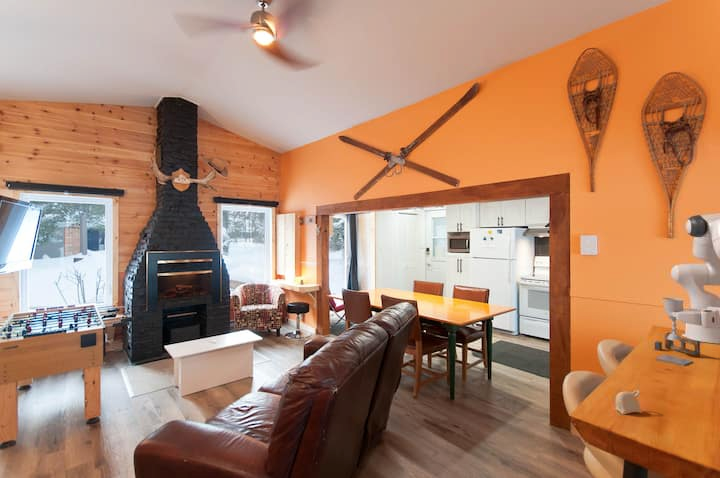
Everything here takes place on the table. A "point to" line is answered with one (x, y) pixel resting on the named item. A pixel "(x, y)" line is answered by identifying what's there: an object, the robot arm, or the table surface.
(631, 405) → the decorative ornament
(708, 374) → the table surface
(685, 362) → the coaster
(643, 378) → the table surface
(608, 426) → the table surface
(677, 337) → the chalice
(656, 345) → the latch block
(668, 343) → the gate leaf
